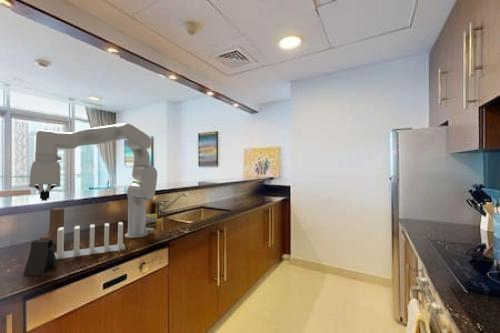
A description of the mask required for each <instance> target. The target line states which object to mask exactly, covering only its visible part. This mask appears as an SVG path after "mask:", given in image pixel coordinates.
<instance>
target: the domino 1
mask: <svg viewBox="0 0 500 333" xmlns="http://www.w3.org/2000/svg"><path fill="white" fill-rule="evenodd" d="M64 245H65V226H64V227H59V229H58V230H57V244H56V253H57V258H58V257H62V255H63V253H64V251H65V250H64V247H65V246H64Z"/></svg>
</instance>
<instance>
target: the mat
mask: <svg viewBox="0 0 500 333" xmlns="http://www.w3.org/2000/svg"><path fill="white" fill-rule="evenodd" d="M123 250H126V247H125V244H124V243H123V248H122V249H118V244H111V245H110V244H109V250H108V251H104V245H103V246H97V247H95V246H94V253H89V247H87V248H81V249H80V248H79V254H78V255H73V253H74V249H71V250H64V253H63V255H62V257H58V258H57V252H54V253H55V257H56V260H62V259H67V258H68V259H69V258H75V257H81V256H89V255H95V254H96V255H97V254H102V253H109V252H116V251H123Z"/></svg>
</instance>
